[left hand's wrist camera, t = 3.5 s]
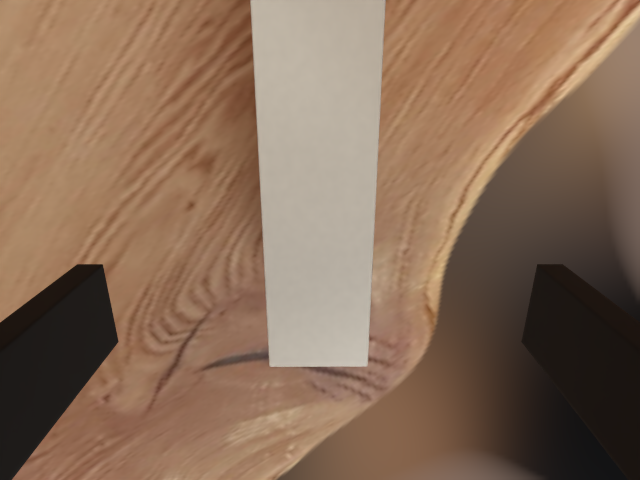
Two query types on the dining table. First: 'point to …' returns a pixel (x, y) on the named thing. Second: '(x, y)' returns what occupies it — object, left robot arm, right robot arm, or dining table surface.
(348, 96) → the bar
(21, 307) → the left robot arm
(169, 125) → the dining table surface
